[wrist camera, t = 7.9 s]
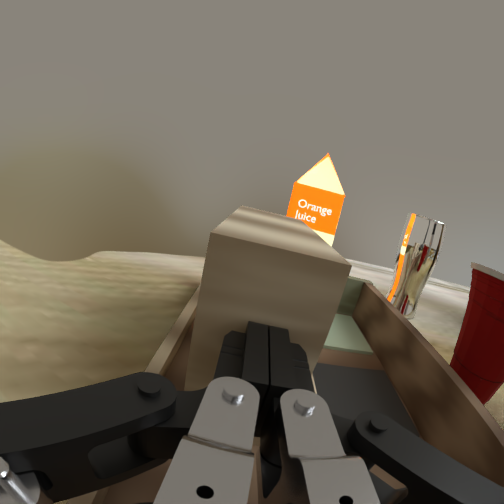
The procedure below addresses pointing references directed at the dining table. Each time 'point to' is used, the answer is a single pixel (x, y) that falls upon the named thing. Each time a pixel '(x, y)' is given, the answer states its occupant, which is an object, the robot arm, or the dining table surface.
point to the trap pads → (360, 393)
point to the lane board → (383, 358)
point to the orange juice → (318, 199)
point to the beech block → (264, 287)
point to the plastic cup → (482, 335)
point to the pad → (346, 336)
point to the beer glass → (414, 262)
